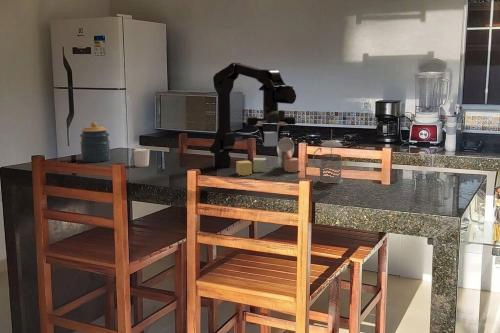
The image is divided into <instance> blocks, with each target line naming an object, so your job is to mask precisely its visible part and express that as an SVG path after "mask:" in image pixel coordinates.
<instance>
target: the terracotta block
mask: <svg viewBox="0 0 500 333" xmlns="http://www.w3.org/2000/svg"><path fill="white" fill-rule="evenodd" d="M298 159H299V158H297V157H291V158H289V159H284V167H283V169H284V170H285V171H284V170H283V171H284V172H287V171H288V173H289V172H293V173H298V172H297V171H298Z"/></svg>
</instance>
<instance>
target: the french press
mask: <svg viewBox="0 0 500 333" xmlns="http://www.w3.org/2000/svg"><path fill="white" fill-rule="evenodd" d="M335 116H336V115H335V114H329V118H331V119H333V118H336V117H335ZM341 147H343V144H342V143H341V142H339V141H337V140H334V139H333V130H331V136H330V140H326V141H324V142H321V144H320V147H319V148H317V149H316V150H314V151H313V152H314V153H313V156H312V161H313V164H314V166H315V167H317V168H319V178H318V179H317V180H318V181H320V182H324V183H323V184H327V183H337V184H342V183H341V182H343V181H344V180H343V179H342V164H343V163H342V161H343V159H341V158H340V157H342V155H341V154H337V153H335V154H334V153H332V152H333V150H332V149H333V148H341ZM322 148H330V153H324V154H321V157H322V158H321V159H320V165H318V164H317V163H316V160H315V154H316V152H317V151H319V150H320V153H321V152H322V151H323V150H322ZM323 169H324V170H323ZM329 169H332V170H334V171H336V172H334V171H332V170H329ZM338 170H340V171H338ZM323 171H325V172H324V173H323ZM326 172H327V173H326ZM328 172H331V173H333V174H335V175H333V174H331V173H328ZM339 173H340V174H339ZM324 174H328V175H331V176H334V177H330V176H323V175H324ZM338 174H339V175H338ZM318 181H317V182H318ZM320 182H319V183H320ZM343 183H344V182H343Z"/></svg>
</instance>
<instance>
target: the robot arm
mask: <svg viewBox="0 0 500 333" xmlns="http://www.w3.org/2000/svg"><path fill="white" fill-rule="evenodd" d="M239 75H242V76H245V77H249V78H252V79H255V80H257V82H259V83H260V84H262V85H261V86H260V87H259V88H258V91H262V92H263V93H262V94H263V95H262V96H263V97H262V100H263V102H262V118H261V117H260V118H258V117H257V116H247V117H246V118H245V124H246V125H247V126H254V127H255V128H257V130H258V132H259V134H260V137H261V138H260V139H261V141H262V144H263V143H264V132H265V131H264V125H263V124H268V125H269V124H270V125H271V124H277V125H276V132H277V133H278V141H279V140H280V138H281V134H282V131H283V130H284V128H287V127H288V126H289V125H291V126H292V125H294V126H295V125H296V118H295V117H294V116H292V115H285V110H284V109H283V110H279V104H284V105H285V104H287V105H293V104H294V103H295V102H296V100H297V94H296V91H295V89H294V86H293V85H286V83H285V81H284V80H283V77H282V76H281V73H280V71H279V70H278V69H267V68H265V69H262V68H258V67H254V66H251V65H246V64H243V63H241V62H231V63H230V64H229V65H227V66H225V67H224V68H223V69H221V70H220V71H218V72H216V73H215V74H214V75H213V77H212V78H213V80H212V81H213V87H214V89H215V91H216V93H217V112H218V113H217V114H218V115H217V121H218V122H217V123H218V125H217V126H218V129H217V131H216V133H215V135H214V142H213V143H212V144H211V145H210V147H209V152H210V153H211V154H213V168H214V169H216V168H217V169H218V168H220V169H221V168H223V169H224V168H230V166H231V155H230V153H231V152H233V149H234V146H235V143H237V142H236V132H233V131H232V129H231V96H230V95H231V92H232V91H233V88H234V84H235V81H236V80H238V78H239ZM287 125H288V126H287Z"/></svg>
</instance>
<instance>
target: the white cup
mask: <svg viewBox="0 0 500 333" xmlns="http://www.w3.org/2000/svg"><path fill="white" fill-rule="evenodd" d="M132 152H133V158H134V164H135V166H134V167H137V168H139V167H140V168H143V167H148V166H149V164H150V163H149V162H150V149H149V148H135V149H133V151H132Z"/></svg>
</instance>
